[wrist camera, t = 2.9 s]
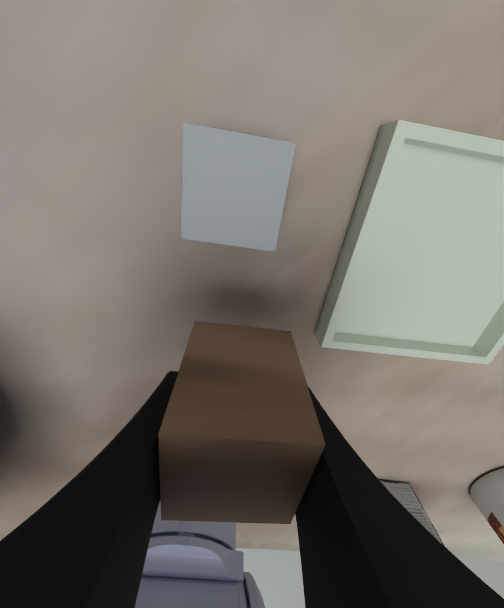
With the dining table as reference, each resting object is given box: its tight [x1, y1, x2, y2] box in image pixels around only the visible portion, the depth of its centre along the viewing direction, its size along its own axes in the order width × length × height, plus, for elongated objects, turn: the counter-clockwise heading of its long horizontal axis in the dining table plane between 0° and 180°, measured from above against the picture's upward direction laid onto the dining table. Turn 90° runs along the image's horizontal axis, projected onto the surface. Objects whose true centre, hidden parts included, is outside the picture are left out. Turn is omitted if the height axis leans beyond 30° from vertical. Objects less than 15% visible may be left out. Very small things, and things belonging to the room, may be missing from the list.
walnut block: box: [158, 321, 326, 524], centre depth 9 cm, size 4×4×5 cm
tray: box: [315, 120, 504, 364], centre depth 16 cm, size 13×13×2 cm
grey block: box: [181, 123, 296, 252], centre depth 12 cm, size 4×4×5 cm
